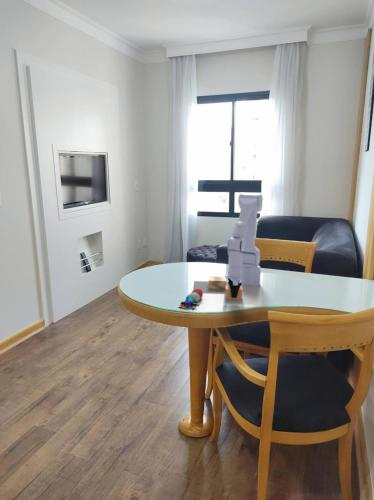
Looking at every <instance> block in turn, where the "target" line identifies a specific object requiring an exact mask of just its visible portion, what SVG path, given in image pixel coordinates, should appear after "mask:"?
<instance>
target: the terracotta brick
mask: <svg viewBox="0 0 374 500" xmlns="http://www.w3.org/2000/svg"><path fill="white" fill-rule="evenodd" d="M243 293H244V292H243V286H242V285H241V286H240V288H239V291H238V294H237V298H232V297H231V290H230V287H229V286H226V291H225V294H224V296H225V300H235V301H238V300H239V301H242V300H243Z"/></svg>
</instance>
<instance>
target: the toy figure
mask: <svg viewBox="0 0 374 500" xmlns="http://www.w3.org/2000/svg"><path fill="white" fill-rule="evenodd" d="M203 295H204V293H203V292H202V290H201V289H195V290H193V289H192V291H191V293H189V294H188V295H186V296H185V300H184V301H181V302H180V304H179V306H181V307H187V308H189V307H194V308H195V307H197V306H198V302H200V300H202V298H203ZM181 304H182V305H181Z"/></svg>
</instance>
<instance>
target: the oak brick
mask: <svg viewBox="0 0 374 500" xmlns="http://www.w3.org/2000/svg"><path fill="white" fill-rule="evenodd" d="M226 278H227V277H225V276H210V275H209V276H208V282H209V286H208V289H226V282H227V279H226Z"/></svg>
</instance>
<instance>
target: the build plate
mask: <svg viewBox="0 0 374 500" xmlns="http://www.w3.org/2000/svg"><path fill="white" fill-rule="evenodd" d="M208 286H209V280H208V281H207V280H206V281H205V280H202V281H201V280H200V281H199V280H194V281H193V289H192V291H193V290H195V289H201V290H202V292H203V294H208V295H210V294H211V295H212V294H213V295H225V291H226V289H208ZM226 286H229V284H228V281H226Z"/></svg>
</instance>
